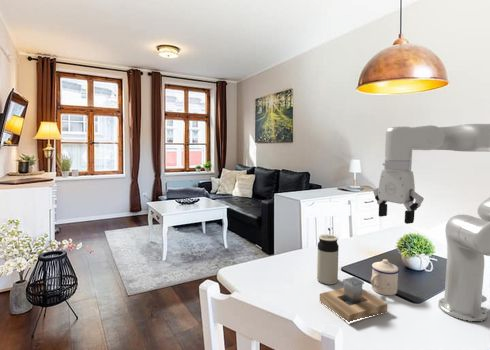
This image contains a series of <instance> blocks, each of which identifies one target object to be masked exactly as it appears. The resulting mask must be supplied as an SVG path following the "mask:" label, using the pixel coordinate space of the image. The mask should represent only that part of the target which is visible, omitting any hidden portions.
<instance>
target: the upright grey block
mask: <svg viewBox="0 0 490 350" xmlns="http://www.w3.org/2000/svg"><path fill="white" fill-rule="evenodd" d="M342 282H343V288H344V302H345V303H346V304H348V305H349V306H350V305H354V304H358V303H361V302H362V289H363V285H364V284H365V281H363V280H362V279H360V278H358V277H356V276H352V277H348V278H344V279H342Z"/></svg>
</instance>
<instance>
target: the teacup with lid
mask: <svg viewBox="0 0 490 350" xmlns="http://www.w3.org/2000/svg"><path fill="white" fill-rule="evenodd" d="M371 269H372V271H371V278H370V284H371V290H373V292H375V293H376V294H380V295H383V296H394V295H396V294H397V293H398V283H399V281H398V280H399V277H398V276H399V272H400V270H399V267H398V265H395V264H392V263H391V262H389V260H388V259H387V258H386V259H385V258H383V259H382V261H376V262H373V263H372V264H371Z"/></svg>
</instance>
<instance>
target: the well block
mask: <svg viewBox="0 0 490 350" xmlns="http://www.w3.org/2000/svg"><path fill="white" fill-rule="evenodd" d="M320 301H321V302H322V303H323V304H324V305H326V306H327V307H328V308H330V309H331V310H333V311H334V312H335V313H337V314H338V315H339V316H341V317H342V318H344V319H345V320H347V321H348V322H350V321H353V320H357V319H360V318H365V317H369V316H373V315H377V314H381V313H384V314H386V313H385V312H387V313H388V303H387V302H386V301H383V300H382V299H380V298H378V297H377V296H375V295H373V294H371V293H370V292H369V291H366V290H365V289H363V288H362V302H361V303H358V304H354V305H350V306H349V305H348V304H346V303H345V302H344V287H342V288H337V289H333V290H329V291H325V292H321V293H319V302H320ZM322 303H321V304H322ZM323 304H322V305H323ZM324 305H323V306H324ZM327 307H326V308H327ZM328 308H327V309H328ZM381 315H382V314H381Z"/></svg>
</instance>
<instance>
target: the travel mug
mask: <svg viewBox="0 0 490 350" xmlns="http://www.w3.org/2000/svg"><path fill="white" fill-rule="evenodd" d="M318 239H319V241H318V243H317V257H316V258H317V261H316V262H317V263H316V267H317V268H316V269H317V270H316V275H317V276H316V280H317V279H318V280H319V281H320V283H321V282H322V284H324V283H325V284H324V285H335V284H336V283H338V281H339V279H338V278H339V243H338V240H339V237H338V236H337V235H334V234H330V233H329V234H328V233H327V234H326V233H325V234H319V235H318ZM318 280H317V281H318ZM319 281H318V282H319Z"/></svg>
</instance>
